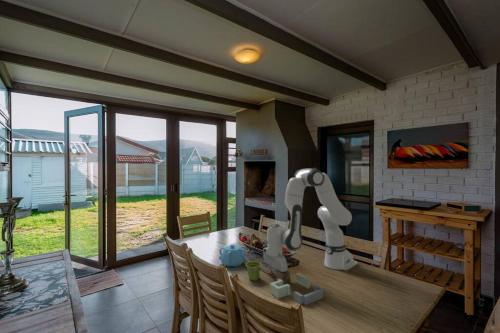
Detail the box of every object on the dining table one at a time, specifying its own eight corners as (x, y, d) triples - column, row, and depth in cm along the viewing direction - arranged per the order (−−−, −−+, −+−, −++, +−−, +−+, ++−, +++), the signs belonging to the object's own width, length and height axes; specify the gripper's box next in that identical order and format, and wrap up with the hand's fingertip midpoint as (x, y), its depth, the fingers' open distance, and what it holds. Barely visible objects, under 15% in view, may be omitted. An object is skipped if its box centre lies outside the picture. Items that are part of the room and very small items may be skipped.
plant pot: (248, 283, 144) (248, 268, 144) (244, 276, 153) (244, 262, 153) (263, 280, 146) (263, 265, 146) (259, 274, 155) (258, 260, 155)
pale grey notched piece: (298, 281, 144) (298, 272, 144) (309, 287, 136) (309, 278, 136) (268, 291, 133) (268, 282, 133) (278, 299, 125) (278, 289, 125)
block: (283, 278, 148) (283, 268, 148) (290, 282, 143) (290, 272, 143) (275, 281, 145) (275, 270, 145) (282, 285, 140) (281, 274, 140)
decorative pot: (225, 271, 162) (224, 250, 162) (218, 262, 176) (217, 243, 176) (248, 266, 168) (247, 246, 168) (239, 258, 183) (238, 240, 183)
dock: (316, 291, 132) (316, 284, 132) (325, 297, 126) (325, 289, 126) (294, 300, 124) (294, 292, 124) (303, 306, 119) (302, 297, 119)
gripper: (289, 255, 143) (290, 279, 143) (269, 246, 161) (270, 267, 161) (280, 257, 140) (281, 282, 140) (261, 248, 158) (262, 269, 158)
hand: (275, 274), depth 151 cm, fingers closed
